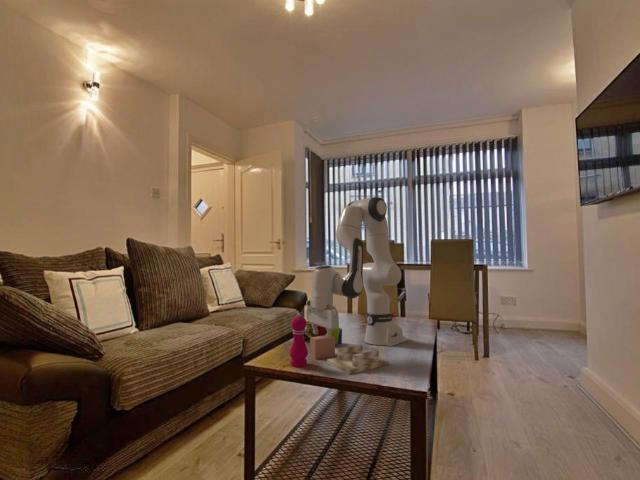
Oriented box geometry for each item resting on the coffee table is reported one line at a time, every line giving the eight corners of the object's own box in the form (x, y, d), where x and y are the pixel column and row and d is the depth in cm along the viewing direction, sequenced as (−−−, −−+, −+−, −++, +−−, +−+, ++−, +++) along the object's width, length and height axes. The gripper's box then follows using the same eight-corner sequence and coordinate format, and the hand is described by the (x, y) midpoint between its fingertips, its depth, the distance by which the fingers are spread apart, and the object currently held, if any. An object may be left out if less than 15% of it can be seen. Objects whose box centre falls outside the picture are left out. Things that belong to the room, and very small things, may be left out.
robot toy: (336, 350, 150) (299, 340, 159) (344, 345, 158) (309, 336, 167) (340, 313, 150) (302, 306, 159) (348, 310, 158) (312, 303, 167)
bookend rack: (365, 355, 140) (365, 342, 140) (388, 364, 129) (388, 350, 129) (326, 363, 129) (326, 349, 130) (348, 374, 118) (348, 358, 118)
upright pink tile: (329, 352, 143) (329, 334, 144) (334, 355, 140) (335, 336, 140) (310, 356, 138) (310, 337, 138) (315, 359, 135) (315, 339, 135)
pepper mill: (305, 368, 124) (305, 314, 125) (287, 366, 125) (287, 314, 126) (309, 362, 131) (310, 311, 132) (292, 360, 132) (292, 310, 133)
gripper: (343, 306, 133) (342, 341, 132) (316, 300, 150) (315, 330, 149) (330, 307, 129) (329, 342, 129) (304, 301, 146) (303, 332, 146)
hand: (321, 336), depth 139 cm, fingers open, 8 cm apart
